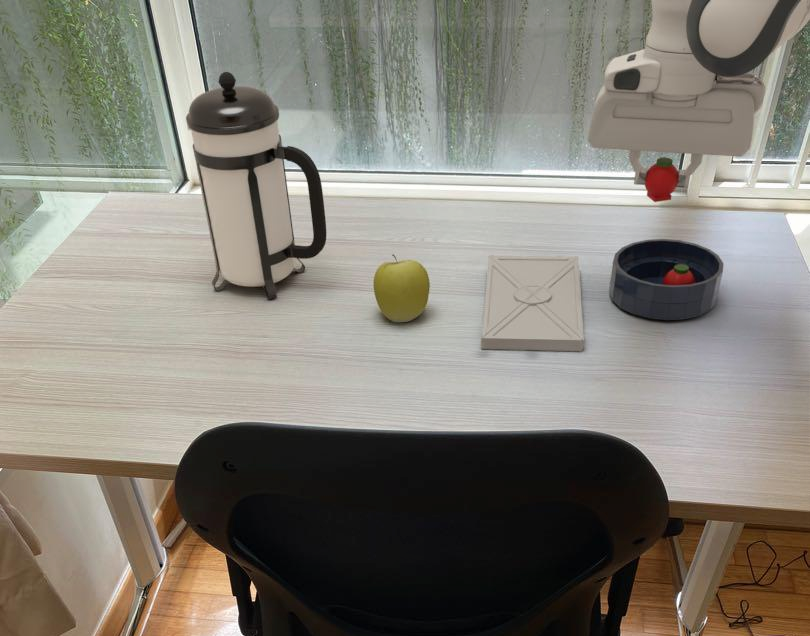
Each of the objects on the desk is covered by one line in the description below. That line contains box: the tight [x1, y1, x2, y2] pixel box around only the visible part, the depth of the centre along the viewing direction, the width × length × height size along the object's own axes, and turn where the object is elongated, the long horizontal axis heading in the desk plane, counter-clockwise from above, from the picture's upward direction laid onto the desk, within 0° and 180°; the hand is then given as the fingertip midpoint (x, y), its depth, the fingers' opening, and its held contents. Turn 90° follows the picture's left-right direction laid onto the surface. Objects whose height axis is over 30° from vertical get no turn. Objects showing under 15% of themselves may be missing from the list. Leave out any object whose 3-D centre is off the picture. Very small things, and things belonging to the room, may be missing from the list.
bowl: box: [608, 238, 725, 321], centre depth 127 cm, size 15×15×6 cm
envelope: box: [480, 255, 584, 352], centre depth 127 cm, size 24×2×14 cm
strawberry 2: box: [644, 157, 679, 203], centre depth 115 cm, size 4×4×5 cm
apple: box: [373, 254, 431, 323], centre depth 125 cm, size 8×8×10 cm
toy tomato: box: [663, 264, 695, 285], centre depth 125 cm, size 4×4×5 cm
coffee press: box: [185, 71, 327, 300], centre depth 128 cm, size 17×16×30 cm
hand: (660, 184), depth 116 cm, fingers closed on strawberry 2, 4 cm apart
